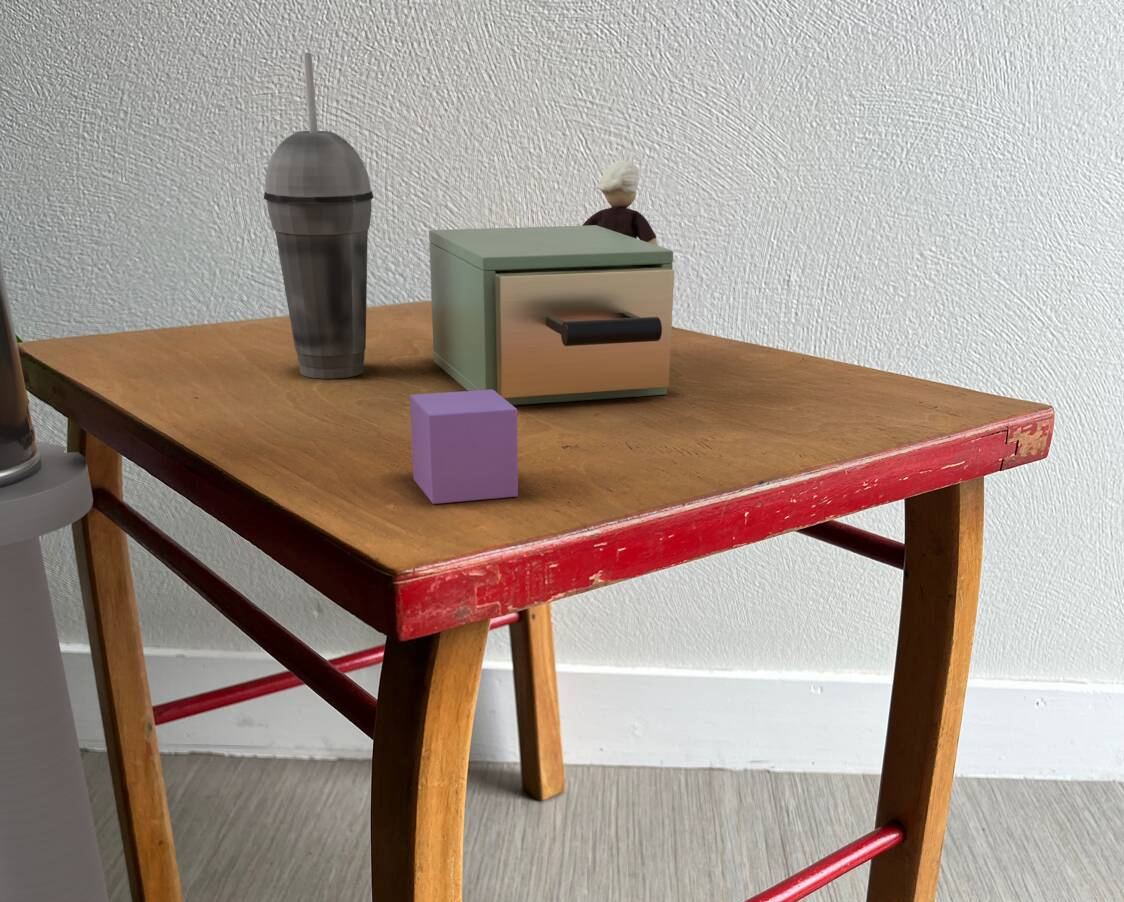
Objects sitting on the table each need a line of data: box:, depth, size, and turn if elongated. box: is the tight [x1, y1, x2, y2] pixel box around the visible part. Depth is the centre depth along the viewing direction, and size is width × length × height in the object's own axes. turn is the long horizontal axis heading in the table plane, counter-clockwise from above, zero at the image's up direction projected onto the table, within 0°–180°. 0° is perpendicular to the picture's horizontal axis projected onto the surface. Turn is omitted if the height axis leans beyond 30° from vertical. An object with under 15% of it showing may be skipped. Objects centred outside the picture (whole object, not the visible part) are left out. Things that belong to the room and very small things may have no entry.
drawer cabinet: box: [428, 225, 674, 406], centre depth 88 cm, size 15×13×9 cm
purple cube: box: [409, 389, 519, 505], centre depth 66 cm, size 4×4×4 cm
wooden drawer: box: [495, 265, 675, 398], centre depth 85 cm, size 18×11×7 cm, turn 18°
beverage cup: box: [263, 52, 374, 380], centre depth 87 cm, size 7×7×20 cm
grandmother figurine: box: [581, 159, 659, 246], centre depth 106 cm, size 8×4×13 cm, turn 77°
